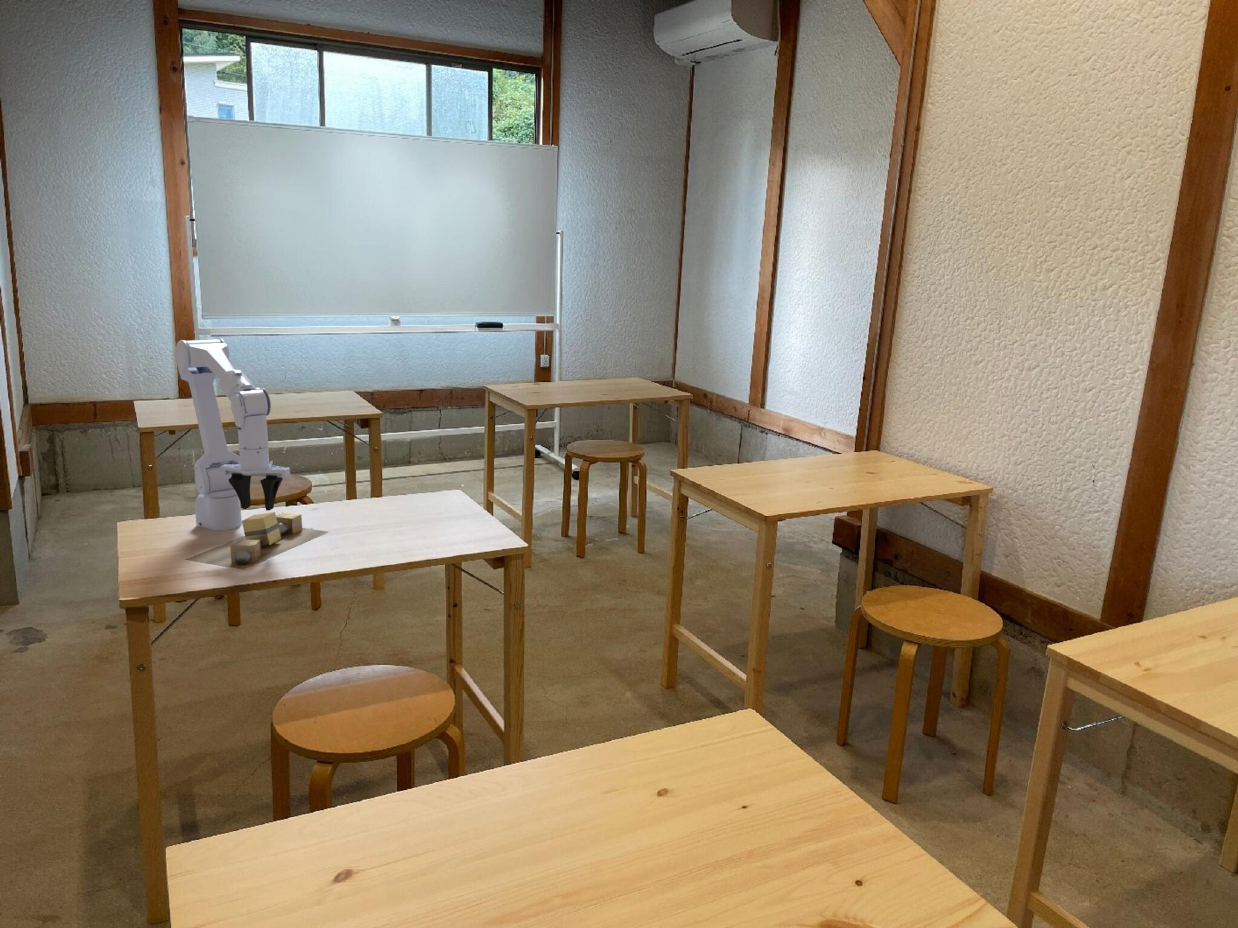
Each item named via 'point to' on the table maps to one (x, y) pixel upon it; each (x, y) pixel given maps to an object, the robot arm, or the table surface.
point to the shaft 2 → (289, 523)
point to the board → (287, 541)
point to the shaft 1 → (245, 551)
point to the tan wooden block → (262, 528)
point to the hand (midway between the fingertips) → (258, 508)
